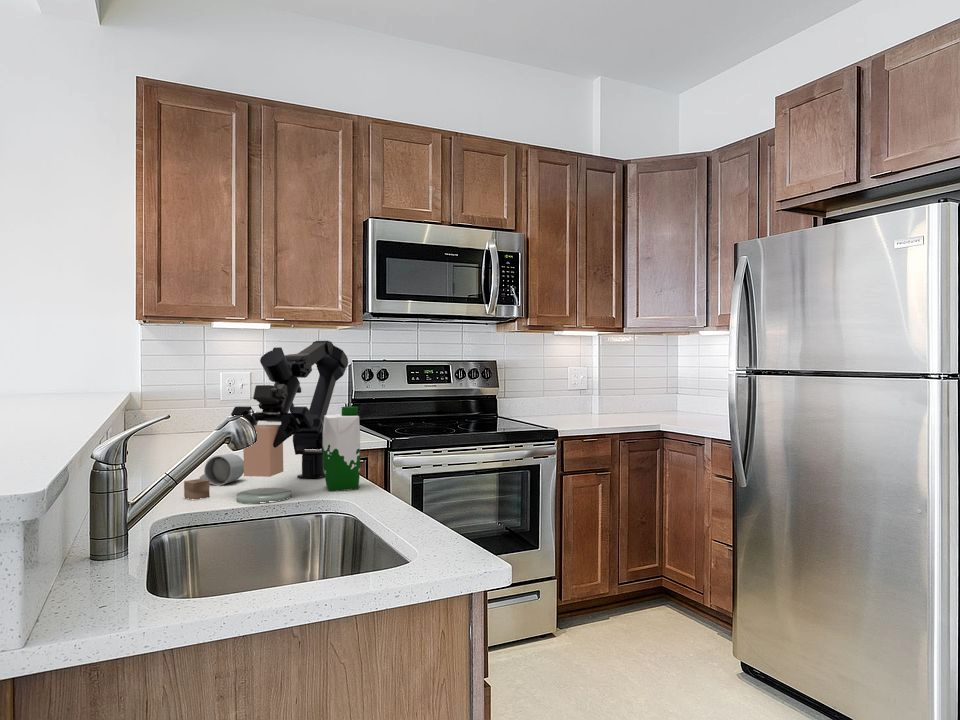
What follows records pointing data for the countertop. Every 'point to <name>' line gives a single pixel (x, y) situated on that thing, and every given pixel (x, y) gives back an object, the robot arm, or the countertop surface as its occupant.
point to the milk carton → (342, 449)
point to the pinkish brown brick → (264, 453)
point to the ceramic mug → (223, 469)
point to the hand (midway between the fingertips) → (260, 446)
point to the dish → (263, 495)
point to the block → (196, 489)
